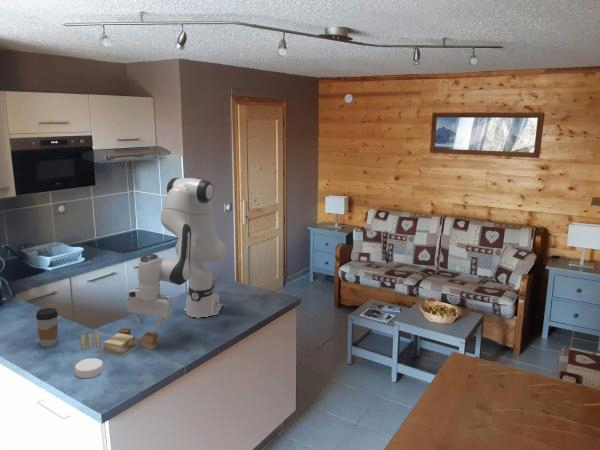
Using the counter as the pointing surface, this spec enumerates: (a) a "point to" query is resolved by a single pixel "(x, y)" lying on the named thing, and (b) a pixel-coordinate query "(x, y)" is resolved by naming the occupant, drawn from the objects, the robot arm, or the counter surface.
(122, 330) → the block
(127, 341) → the base block
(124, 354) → the mat
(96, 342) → the ammunition
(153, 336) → the oak block
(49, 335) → the coffee cup
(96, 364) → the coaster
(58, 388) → the counter surface
